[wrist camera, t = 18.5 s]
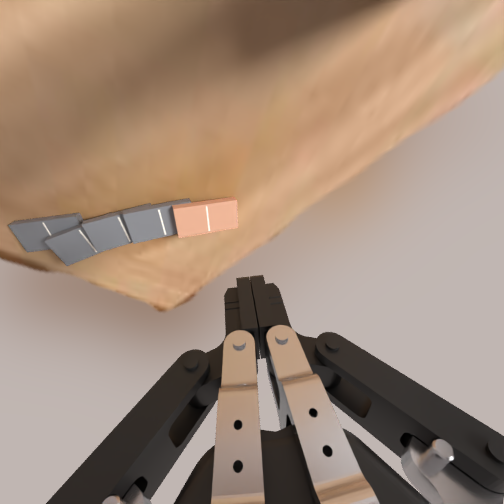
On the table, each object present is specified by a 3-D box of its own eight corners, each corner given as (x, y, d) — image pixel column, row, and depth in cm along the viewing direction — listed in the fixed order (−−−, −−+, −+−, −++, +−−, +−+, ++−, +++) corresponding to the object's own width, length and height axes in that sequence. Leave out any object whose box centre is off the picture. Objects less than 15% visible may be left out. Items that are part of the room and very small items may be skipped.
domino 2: (110, 215, 39) (44, 241, 37) (127, 241, 41) (66, 266, 40) (111, 212, 40) (47, 236, 38) (128, 237, 43) (69, 260, 41)
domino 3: (151, 206, 39) (81, 224, 36) (161, 233, 41) (97, 252, 39) (150, 202, 40) (83, 220, 37) (160, 229, 43) (98, 248, 40)
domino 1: (75, 216, 38) (7, 225, 38) (89, 243, 41) (27, 252, 40) (80, 212, 40) (15, 220, 39) (93, 239, 42) (33, 247, 42)
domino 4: (190, 201, 39) (122, 214, 36) (196, 229, 42) (133, 243, 39) (188, 198, 40) (123, 210, 37) (194, 225, 43) (133, 239, 40)
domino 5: (237, 200, 40) (173, 209, 37) (238, 227, 43) (178, 238, 40) (234, 196, 41) (172, 205, 38) (235, 223, 44) (177, 233, 41)
